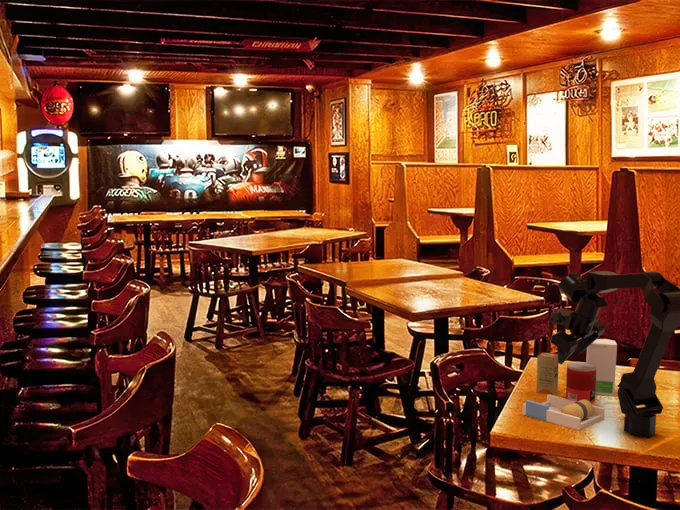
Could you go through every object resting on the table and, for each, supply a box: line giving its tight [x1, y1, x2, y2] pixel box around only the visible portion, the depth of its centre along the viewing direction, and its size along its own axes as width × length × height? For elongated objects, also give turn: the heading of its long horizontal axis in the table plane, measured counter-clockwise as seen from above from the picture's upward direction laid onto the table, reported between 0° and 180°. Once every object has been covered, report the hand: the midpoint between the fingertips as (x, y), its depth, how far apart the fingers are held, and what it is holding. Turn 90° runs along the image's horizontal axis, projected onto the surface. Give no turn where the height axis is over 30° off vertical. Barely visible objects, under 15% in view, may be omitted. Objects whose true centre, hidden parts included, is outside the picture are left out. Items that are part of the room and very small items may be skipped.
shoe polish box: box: [536, 351, 560, 395], centre depth 227 cm, size 5×5×12 cm
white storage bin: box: [522, 394, 605, 431], centre depth 204 cm, size 17×12×5 cm
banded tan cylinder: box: [561, 400, 594, 421], centre depth 201 cm, size 8×5×5 cm, turn 132°
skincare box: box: [585, 338, 618, 397], centre depth 229 cm, size 8×7×16 cm
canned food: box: [565, 361, 596, 404], centre depth 219 cm, size 8×8×11 cm
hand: (569, 358), depth 215 cm, fingers open, 9 cm apart
